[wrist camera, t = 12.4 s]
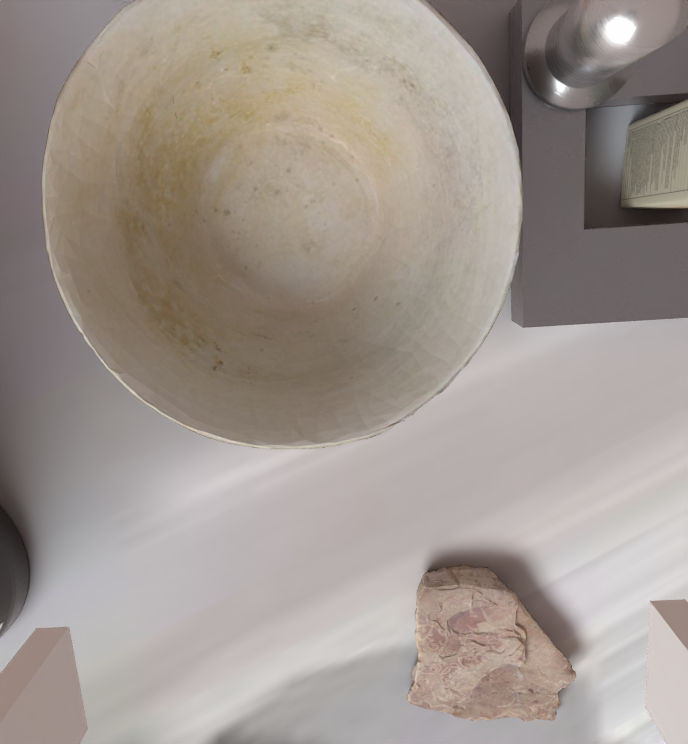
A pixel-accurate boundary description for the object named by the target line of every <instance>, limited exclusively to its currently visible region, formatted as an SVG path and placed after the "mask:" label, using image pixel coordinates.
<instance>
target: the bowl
mask: <svg viewBox="0 0 688 744" xmlns="http://www.w3.org/2000/svg"><path fill="white" fill-rule="evenodd" d="M42 212H43V221H44V229H45V240H46V248H47V253H48V257H49V262H50V266H51V270H52V273H53V277H54V280H55V283H56V285H57V288H58V290H59V293H60V295H61V298H62V300H63V302H64V304H65V307H66V309H67V311H68V313H69V315H70V317H71V318H72V320H73V322H74V323H75V325H76V327H77V328H78V330H79V332H80V333H81V334H82V335H83V337H84V340H85V341H86V342H87V343H88V345H89V346H90V347H91V348H92V349H93V351H94V352H95V353H96V355H97V356H98V358H99V359H100V360H101V362H102V363H103V364H104V365H105V367H106V368H107V369H108V370H109V371H110V372H111V373H112V374H113V375H114V376H115V377H116V378H117V379H118V380H119V381H120V382H121V383H122V384H123V385H124V386H125V387H126V388H127V389H128V390H129V391H130V392H131V393H132V394H133V395H134V396H135V397H137V398H138V399H139V400H141V401H142V402H143V403H145V404H146V405H148V406H149V407H151V408H152V409H154V410H156V411H157V412H159V413H160V414H162V415H164V416H165V417H167V418H169V419H171V420H172V421H174V422H176V423H178V424H180V425H181V426H183V427H185V428H187V429H190V430H192V431H194V432H196V433H198V434H200V435H203V436H205V437H208V438H211V439H215V440H218V441H222V442H226V443H230V444H236V445H242V446H248V447H254V448H263V449H313V448H325V447H332V446H337V445H340V444H344V443H349V442H354V441H357V440H361V439H368V438H370V437H373V436H376V435H379V434H381V433H383V432H385V431H386V430H388V429H390V428H391V427H393V426H394V425H395V424H397V423H399V422H401V421H404V420H405V419H406V417H408V416H411V415H413V414H414V413H415V412H416V411H417V410H418V409H419V408H420V407H422V406H423V405H425V404H426V403H427V402H428V401H429V400H431V399H432V398H434V397H435V396H436V395H438V394H440V393H441V392H443V391H444V390H445V389H446V388H447V387H448V386H449V384H450V383H451V382H452V381H453V380H454V378H455V377H456V376H457V375H458V373H459V372H460V371H461V370H462V369H463V368H464V367H465V366H466V365H467V364H468V363H469V362H470V360H471V359H472V357H473V356H474V354H475V353H476V352H477V350H478V349H479V347H480V346H481V345H482V343H483V342H484V340H485V338H486V337H487V335H488V333H489V332H490V330H491V328H492V326H493V324H494V322H495V320H496V318H497V316H498V314H499V312H500V310H501V308H502V306H503V303H504V301H505V298H506V295H507V292H508V290H509V287H510V285H511V282H512V279H513V274H514V270H515V266H516V263H517V259H518V256H519V245H520V238H521V230H522V220H523V184H522V172H521V164H520V158H519V150H518V146H517V141H516V138H515V136H514V132H513V128H512V124H511V121H510V118H509V115H508V112H507V110H506V108H505V105H504V103H503V101H502V98H501V96H500V94H499V92H498V90H497V88H496V86H495V84H494V82H493V80H492V78H491V76H490V75H489V73H488V71H487V70H486V68H485V66H484V65H483V63H482V61H481V60H480V58H479V57H478V55H477V54H476V52H475V51H474V50H473V48H472V47H471V45H470V44H469V43H468V42H467V41H466V40H465V39H464V38H463V37H462V36H461V35H460V33H459V32H458V31H457V30H456V29H455V28H454V27H453V26H452V25H451V24H450V23H449V22H448V21H447V20H446V19H445V18H444V17H443V15H442V14H441V13H440V12H438V11H437V10H436V9H435V8H434V7H433V6H432V5H431V4H430V3H428V2H427V1H426V0H134V1H133V2H131V3H130V4H128V5H127V6H126V7H124V8H123V9H121V10H120V11H119V12H118V14H117V15H116V16H115V17H114V18H113V19H112V20H111V21H110V22H109V23H108V24H107V25H106V27H105V28H104V29H103V30H102V31H101V33H100V34H99V35H98V36H97V37H96V38H95V40H94V41H93V42H92V43H91V44H90V46H89V47H88V48H87V50H86V51H85V52H84V54H83V55H82V56H81V58H80V59H79V60H78V62H77V63H76V65H75V66H74V68H73V70H72V71H71V73H70V74H69V76H68V78H67V80H66V82H65V84H64V86H63V88H62V90H61V92H60V94H59V96H58V98H57V101H56V105H55V109H54V113H53V116H52V119H51V122H50V126H49V131H48V136H47V142H46V148H45V154H44V160H43V169H42Z"/></svg>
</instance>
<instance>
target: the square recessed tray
mask: <svg viewBox="0 0 688 744" xmlns="http://www.w3.org/2000/svg"><path fill="white" fill-rule="evenodd" d="M548 1H550V0H518V2H517V3H516V5H515V6H514V7H513V9H512V10H511V12H510V13H509V49H510V121H511V124H512V128H513V132H514V136H515V138H516V141H517V146H518V150H519V158H520V164H521V172H522V184H523V220H522V230H521V238H520V245H519V256H518V259H517V263H516V266H515V270H514V274H513V279H512V282H511V306H512V321H514V322H515V323H517V324H518V325H520V326H521V327H523V328H525V327H541V326H557V325H574V324H590V323H607V322H623V321H639V320H656V319H672V318H688V221H683V222H668V223H653V224H638V225H623V226H608V227H593V228H584V193H585V134H586V109H584V110H578V111H568V110H562V109H558V108H555V107H553V106H551V105H549V104H547V103H546V102H544V101H543V100H542V99H540V98H539V97H538V96H537V95H536V94H535V92H534V91H533V90H532V88H531V87H530V85H529V83H528V81H527V79H526V76H525V73H524V69H523V63H522V49H523V43H524V39H525V36H526V33H527V30H528V28H529V26H530V24H531V22H532V21H533V19H534V18H535V16H536V15H537V14H538V12H539V11H540V10H541V9H542V8H543V7H544V6H545V5H546V3H547V2H548ZM687 99H688V26H687V27H686V28H685V29H684V30H683V31H682V32H681V33H680V34H679V35H678V36H677V37H676V38H674V39H673V40H671V41H670V42H668V43H666V44H665V45H663V46H661V47H659V48H658V49H656V50H654V51H653V52H651V53H649V54H647V55H646V56H644V57H642V58H641V59H639V60H637V62H636V65H635V68H634V70H633V72H632V74H631V76H630V77H629V79H628V81H627V82H626V83H625V84H624V86H623V87H622V88H621V89H620V90H619V91H618V92H617V93H616V94H615V95H613V96H612V97H611V98H609V99H608V100H606V101H604V102H602V103H600V104H598V105H596V106H594V107H591V108H598V107H611V106H625V105H639V104H652V103H666V102H679V101H685V100H687Z"/></svg>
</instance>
